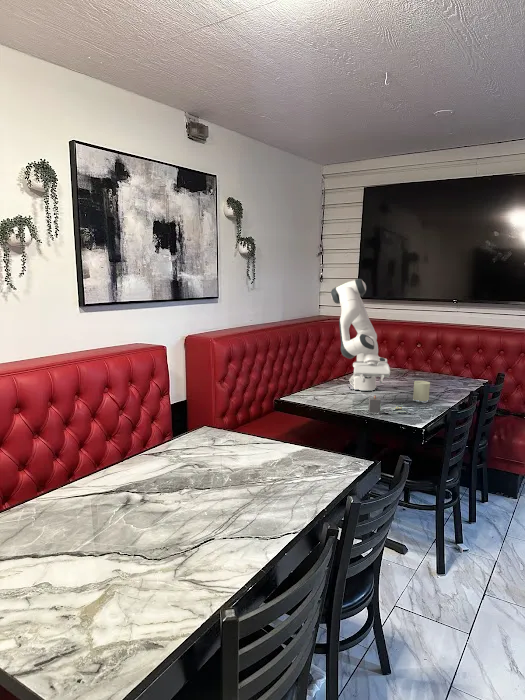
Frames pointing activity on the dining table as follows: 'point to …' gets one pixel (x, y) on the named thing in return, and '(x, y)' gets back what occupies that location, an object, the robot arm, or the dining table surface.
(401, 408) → the circuit board
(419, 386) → the can
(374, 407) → the block
